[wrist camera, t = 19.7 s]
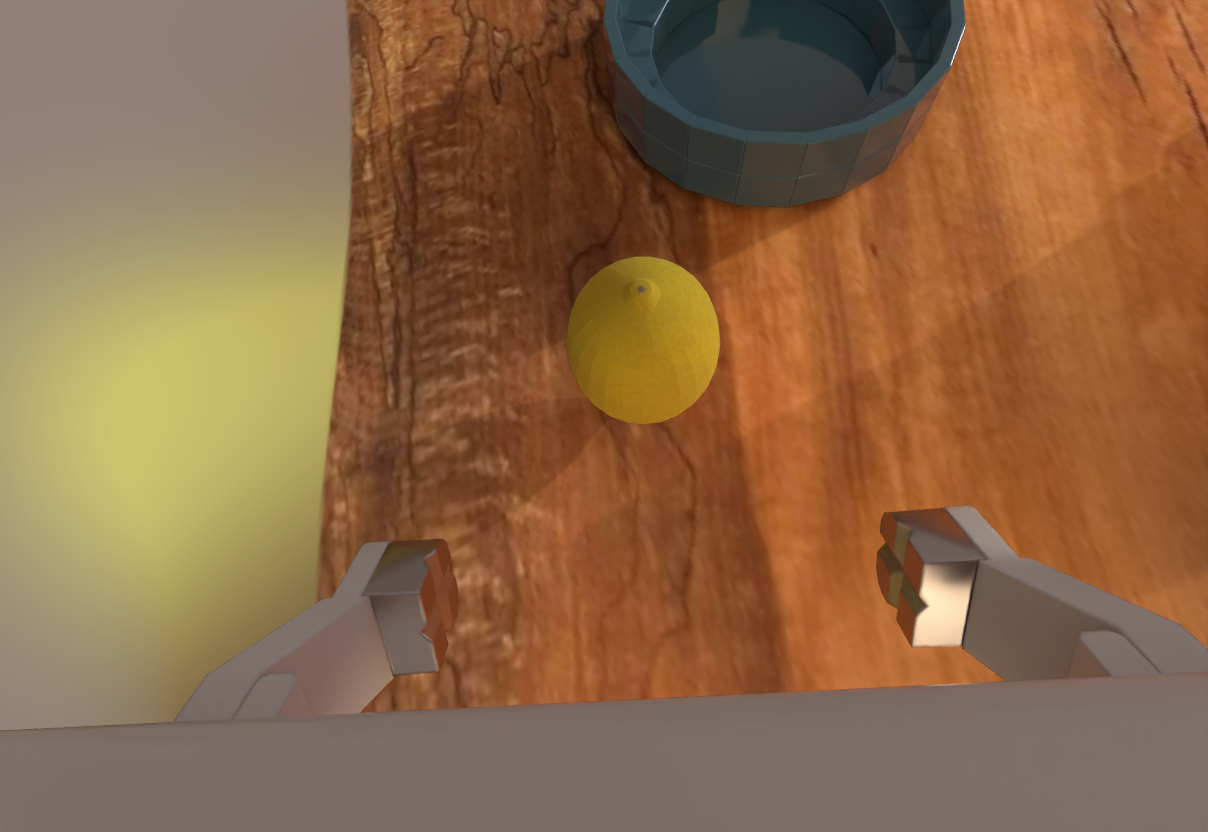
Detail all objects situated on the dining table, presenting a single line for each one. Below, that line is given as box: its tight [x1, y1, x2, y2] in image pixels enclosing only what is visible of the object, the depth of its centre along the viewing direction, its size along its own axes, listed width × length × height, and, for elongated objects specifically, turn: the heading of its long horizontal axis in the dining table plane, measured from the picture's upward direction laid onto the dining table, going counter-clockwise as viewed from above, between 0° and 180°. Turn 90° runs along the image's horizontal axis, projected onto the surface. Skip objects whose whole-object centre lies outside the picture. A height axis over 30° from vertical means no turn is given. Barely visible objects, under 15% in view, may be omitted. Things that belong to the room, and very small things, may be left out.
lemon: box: [566, 257, 720, 424], centre depth 24 cm, size 6×6×8 cm
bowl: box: [603, 0, 966, 207], centre depth 31 cm, size 15×15×4 cm
